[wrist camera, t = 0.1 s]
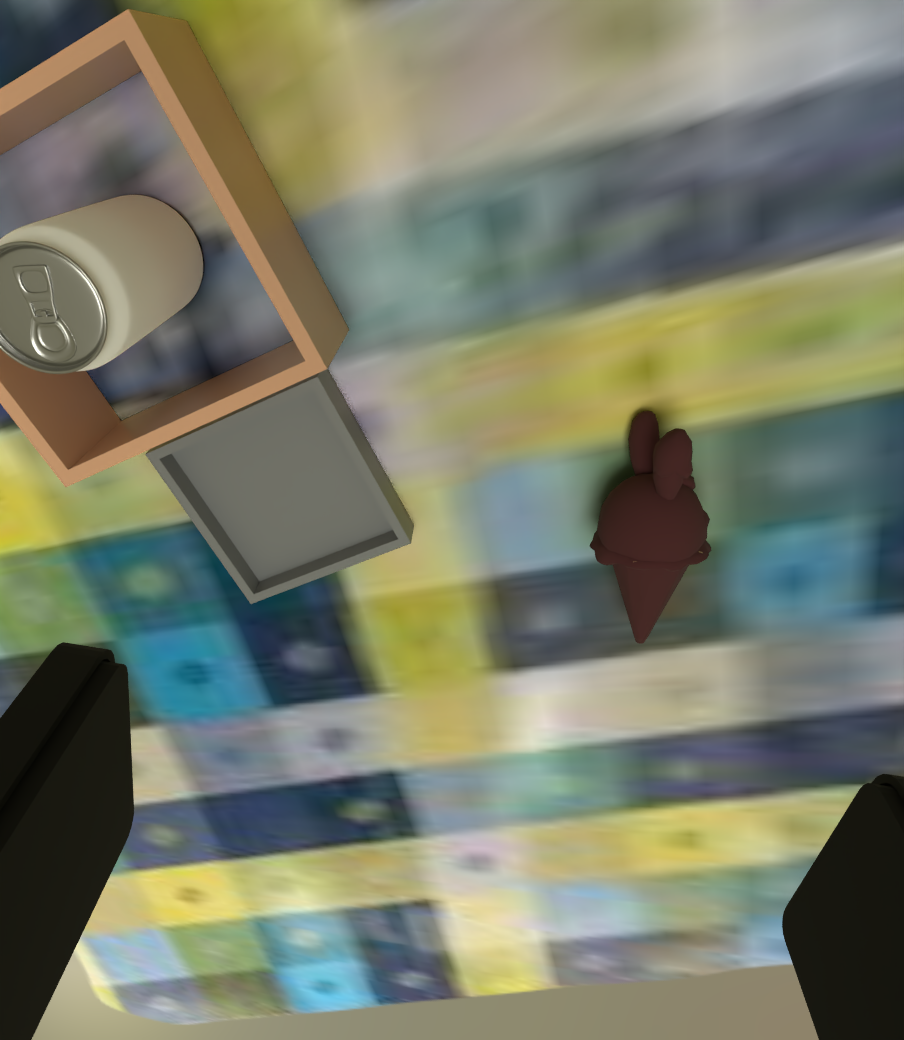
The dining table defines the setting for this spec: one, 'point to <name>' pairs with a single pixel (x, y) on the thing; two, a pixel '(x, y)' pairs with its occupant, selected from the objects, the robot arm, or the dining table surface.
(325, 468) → the tray
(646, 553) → the icecream
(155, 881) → the dining table surface
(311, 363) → the brown square frame
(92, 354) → the can
